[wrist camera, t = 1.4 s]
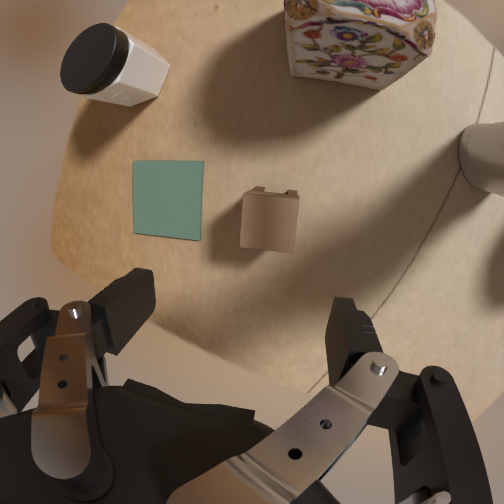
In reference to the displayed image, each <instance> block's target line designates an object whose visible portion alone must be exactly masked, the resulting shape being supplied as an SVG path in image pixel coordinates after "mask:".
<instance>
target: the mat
mask: <svg viewBox="0 0 504 504" xmlns="http://www.w3.org/2000/svg"><path fill="white" fill-rule="evenodd" d="M203 169H204V161H133V218H134V233H140V234H148V235H157V236H165V237H174V238H182V239H191V240H199V241H200V240H201V216H202V189H203Z"/></svg>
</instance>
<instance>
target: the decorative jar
mask: <svg viewBox="0 0 504 504" xmlns="http://www.w3.org/2000/svg"><path fill="white" fill-rule="evenodd" d="M436 20H437V8H436V4H435V0H284V17H283V22H284V24H285V26H286V39H287V53H288V63H289V71H290V75H291V76H293V77H295V76H296V77H306V78H314V79H321V80H328V81H335V82H340V83H346V84H351V85H357V86H362V87H367V88H372V89H376V90H383V89H385V88H386V87H388V86H389V85H391V84H393V83H394V82H395V81H397V80H398V79H400V78H401V77H403V76H404V75H405V74H407V73H408V72H409V71H410V70H412V69H413V68H414V67H416V66H417V65H418V64H419V63H421V62H422V61H423V60H424V59H426V57H429V56H430V54H431V52H432V45H433V43H434V39H435V25H436Z"/></svg>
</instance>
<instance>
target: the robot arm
mask: <svg viewBox="0 0 504 504" xmlns="http://www.w3.org/2000/svg"><path fill="white" fill-rule="evenodd" d="M459 160H460V164H461V168H462V171H463V173H464V175H465V177H466V178H467V180H468V181H469V182H470V184H471V185H473V186H474V187H475V188H477V189H480V190H484V191H487V192H491V193H494V194H497V195H500V196H504V122H497V123H484V124H474V125H471V126H469V127H467V128H466V129H465V130H464V132H463V134H462V136H461V139H460V143H459ZM155 305H156V298H155V288H154V276H153V272H152V271H151V270H148V269H142V268H134V269H133V270H132V271H130V272H129V273H128V274H127V275H125V276H123V277H121V278H118V279H116V280H115V281H113V282H112V283H111V284H109V286H107V287H106V288H104V290H102V291H100V292H99V293H98V294H97V295H95V296H94V297H93V298H92V299H90V300H89V301H88V302H85V301H73V302H69V303H67V304H65V305H64V306H63V307H62V308H61V309H60V311H58V310H50V309H49V306H48V303H47V300H46V299H44V298H40V297H37V298H32V299H29V300H27V301H26V302H24V303H23V304H22V305H20V306H19V307H18V308H16V309H15V310H14V311H13V312H11V313H10V314H9V315H7V316H6V317H5V318H4V319H3V320H1V321H0V504H340V503H339V502H338V500H337V499H336V498H335V497H334V496H333V495H332V494H331V493H330V492H329V491H328V489H327V488H326V487H325V486H324V485H323V484H322V483H321V480H322V479H323V478H324V477H325V476H326V475H327V474H328V473H329V472H330V471H331V469H332V468H333V467H334V466H335V465H336V464H337V462H338V461H339V460H340V459H341V458H342V456H343V455H344V454H345V453H346V452H347V450H348V449H349V448H350V447H351V446H352V444H353V443H354V442H355V440H356V439H357V438H358V436H359V435H360V434H361V432H362V431H363V430H364V429H365V427H366V426H367V425H372V426H377V427H381V428H385V429H388V431H389V438H390V446H391V455H392V465H393V477H394V491H395V504H493V501H492V495H491V490H490V485H489V481H488V477H487V472H486V468H485V465H484V461H483V457H482V454H481V451H480V447H479V444H478V441H477V438H476V435H475V432H474V429H473V426H472V423H471V421H470V418H469V415H468V413H467V410H466V408H465V405H464V403H463V400H462V398H461V395H460V393H459V391H458V388H457V386H456V384H455V381H454V379H453V377H452V376H451V374H450V373H449V372H448V371H446V370H445V369H443V368H441V367H438V366H427V367H425V368H424V369H423V370H422V371H421V373H420V375H419V376H418V375H414V374H409V373H405V372H402V371H399V366H398V364H397V362H396V361H395V360H394V359H393V358H392V357H390V356H389V355H387V354H384V353H383V350H382V348H381V345H380V342H379V340H378V337H377V334H375V333H376V332H375V329H374V327H373V324H372V321H371V319H370V317H369V316H368V315H367V314H366V313H365V312H364V311H359V310H357V309H356V306H355V303H354V300H353V298H345V297H335V298H334V301H333V305H332V309H331V313H330V316H329V320H328V324H327V328H326V334H325V345H326V354H327V363H328V373H329V385H327V386H326V387H325V388H323V389H322V390H321V391H320V392H319V393H318V394H317V395H316V396H315V397H314V398H313V399H312V400H311V401H310V402H308V404H306V405H305V406H304V407H303V408H302V409H300V410H299V411H298V412H297V413H296V414H295V415H293V416H292V417H291V418H290V419H289V420H287V421H286V422H285V423H284V424H283V425H281V426H280V427H279V428H278V429H276V430H273V429H272V428H270V427H269V426H267V425H265V424H263V423H261V422H258V421H256V420H254V415H255V410H249V409H243V408H237V407H232V406H227V405H222V404H191V403H183V402H181V401H179V400H177V399H175V398H173V397H171V396H170V395H168V394H166V393H164V392H162V391H160V390H159V389H157V388H155V387H152V386H149V385H145V384H143V383H139V382H136V381H134V380H131V379H127V381H126V382H125V384H124V385H123V386H109V384H108V377H107V370H106V360H105V357H104V354H105V353H106V352H108V353H111V354H114V355H116V356H117V355H118V354H119V353H120V351H121V350H122V349H123V348H124V346H125V345H126V344H127V343H128V342H129V340H130V339H131V338H132V337H133V336H134V334H135V333H136V332H137V331H138V330H139V329H140V327H141V326H142V325H143V324H144V322H145V321H146V320H147V319H148V318H149V317H150V316H151V314H152V313H153V311H154V309H155ZM29 336H31V339H32V341H33V344H34V346H35V349H34V350H33V351H32V352H31V353H30V354H29V355H28V356H27V357H26V358H25V359H24V360H23V361H22V362H20V360H19V358H18V355H17V350H18V347H19V345H20V344H21V343H22V342H23V341H24V340H26V339H27V338H28V337H29ZM38 389H40V390H39V400H38V407H37V408H34V409H30V410H27V411H23V412H21V411H22V410H23V408H24V407H25V406H26V404H27V403H28V402H29V401H30V399H31V398H32V397H33V396H34V394H35V393H36V392H37V391H38Z"/></svg>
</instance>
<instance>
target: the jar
mask: <svg viewBox="0 0 504 504" xmlns="http://www.w3.org/2000/svg"><path fill="white" fill-rule="evenodd" d="M169 69H170V65H169V64H168V62H167V61H166V60H165V59H164V58H163V57H162V56H161V55H160V54H159V53H158V52H157V51H156V50H155V49H153V48H152V47H150V46H149V45H147V44H145V43H144V42H142V41H140V40H139V39H137V38H136V37H134V36H132V35H130V34H129V33H127V32H125V31H124V30H122V29H120V28H118V27H114V26H112V25H109V24H107V23H99V24H96V25H93V26H91V27H89V28H87V29H86V30H84V31H83V32H82V33H80V34H79V35H78V36H77V37H76V39H75V40H74V41H73V42H72V43H71V45H70V46H69V48H68V50H67V51H66V54H65V56H64V58H63V62H62V65H61V71H60V77H61V82H62V84H63V86H64V87H65V89H66V90H68V91H70V92H73V93H77V94H82V95H83V94H84V96H85V97H86V98H87V99H92V100H98V101H104V102H109V103H114V104H119V105H124V106H128V107H131V106H134V105H136V104H139V103H142V102H144V101H147V100H150V99H152V98H155V97H158V96H159V93H160V91H161V88H162V86H163V83H164V81H165V78H166V76H167V73H168V71H169Z"/></svg>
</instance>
